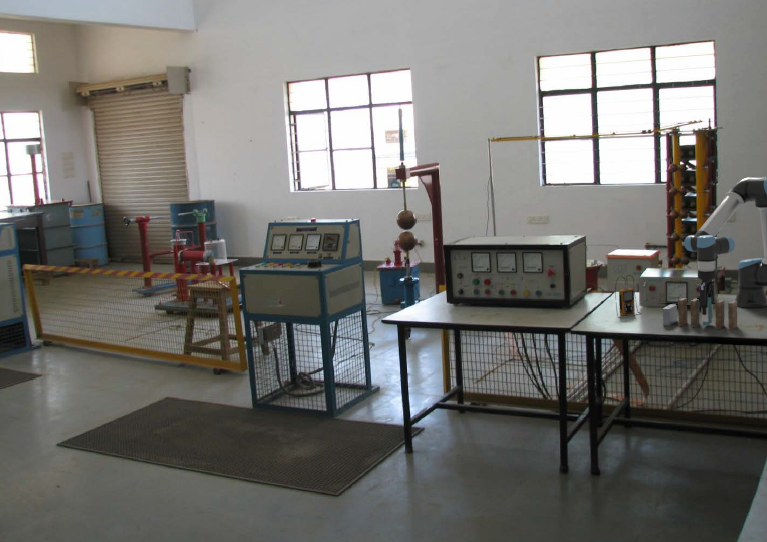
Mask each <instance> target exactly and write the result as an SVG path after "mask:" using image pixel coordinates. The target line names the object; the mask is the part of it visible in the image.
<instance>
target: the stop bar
mask: <svg viewBox="0 0 767 542" xmlns="http://www.w3.org/2000/svg"><path fill="white" fill-rule="evenodd" d="M677 322H678V305H676V304H667V306H665V307H663V308H662V326H668V327H670V326H672V325H674V324H676V323H677Z"/></svg>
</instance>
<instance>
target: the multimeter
mask: <svg viewBox="0 0 767 542" xmlns="http://www.w3.org/2000/svg"><path fill="white" fill-rule="evenodd" d="M628 276H630V277H631V278H632V282H633V283H635V279H634V277H633V275H630V274H628V275H627V274H626V277H628ZM622 278H623V279H624V289H623V288H622V289H619V290H618V300H619V301H618V302H619V305H618V306H619V313H618V312H616V316H617V318H619V319H629V318H630V315H633V317H634V318H636V316H639V315H641V312H640V311H639V310H638V305H637V303H635V301H637V299H636V296H635V295H636V294H635V293H636V292H635V288H631V287H629V286H628V283H627V279H626V278H625V277H623V276H622ZM618 280H619V278H617V279H616V281H615V284H617V283H618ZM614 291H615V292H614V293H615V299H617V294H616V293H617V286H615V289H614ZM618 306H617V303H615V307H616V309H615V310H616V311H618ZM635 306H636V310H635ZM635 311H637V312H638V313H637V314H636V312H635ZM618 315H620V317H619V316H618ZM621 316H622V317H621Z"/></svg>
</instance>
